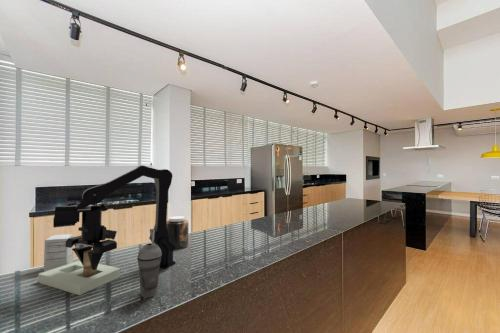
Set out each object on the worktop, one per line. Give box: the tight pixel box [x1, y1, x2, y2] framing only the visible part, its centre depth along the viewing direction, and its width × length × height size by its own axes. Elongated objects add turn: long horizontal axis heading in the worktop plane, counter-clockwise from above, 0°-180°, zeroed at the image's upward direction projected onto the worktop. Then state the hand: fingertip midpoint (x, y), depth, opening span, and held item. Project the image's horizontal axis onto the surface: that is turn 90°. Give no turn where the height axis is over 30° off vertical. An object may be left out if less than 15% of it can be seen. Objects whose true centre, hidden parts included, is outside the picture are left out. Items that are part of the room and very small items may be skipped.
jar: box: [166, 215, 189, 251], centre depth 120 cm, size 12×12×15 cm
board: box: [37, 259, 121, 296], centre depth 81 cm, size 22×14×3 cm, turn 68°
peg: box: [83, 249, 97, 277], centre depth 80 cm, size 4×4×8 cm
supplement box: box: [43, 233, 75, 272], centre depth 91 cm, size 7×7×13 cm
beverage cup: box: [136, 230, 162, 298], centre depth 72 cm, size 7×7×20 cm
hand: (90, 268), depth 80 cm, fingers closed on peg, 4 cm apart
